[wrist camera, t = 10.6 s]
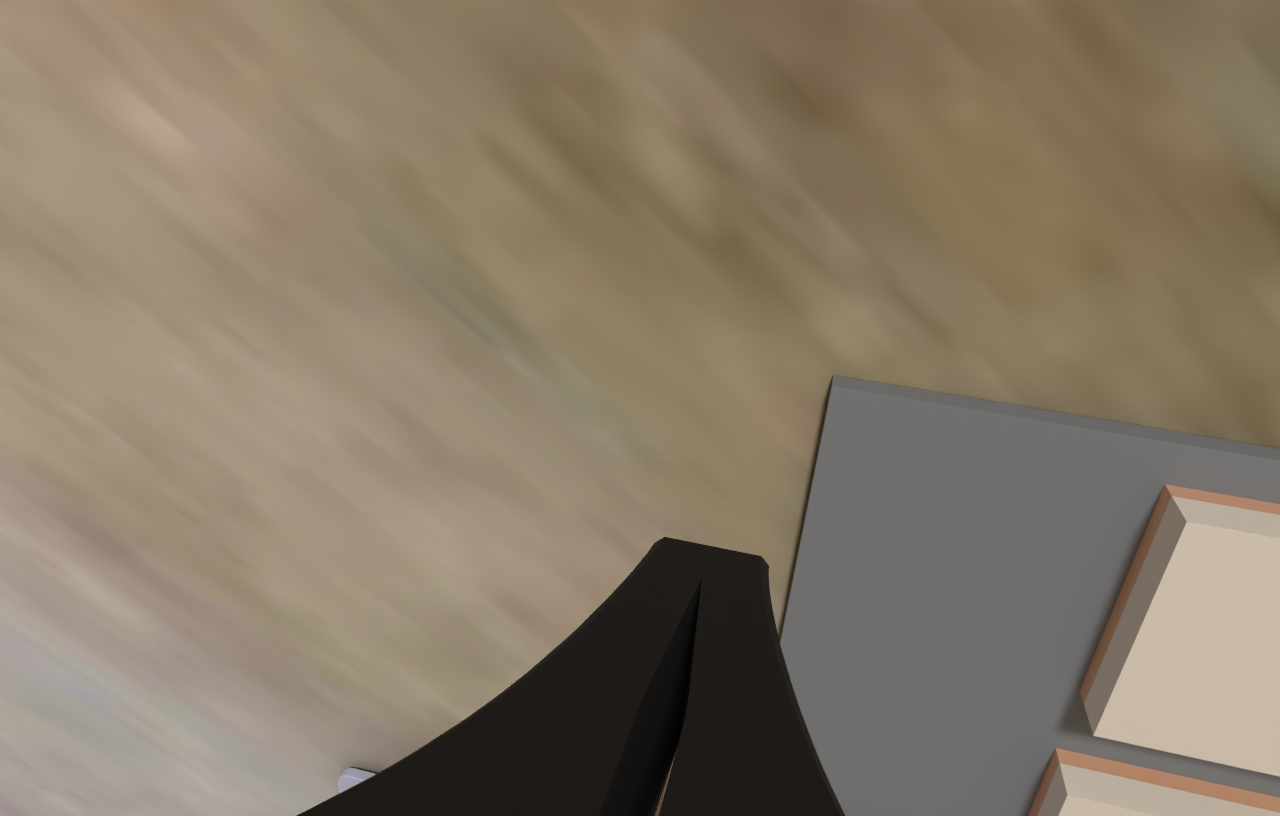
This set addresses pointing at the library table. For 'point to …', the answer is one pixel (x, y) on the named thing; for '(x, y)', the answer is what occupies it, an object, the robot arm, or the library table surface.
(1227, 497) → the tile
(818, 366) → the library table surface
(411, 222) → the library table surface
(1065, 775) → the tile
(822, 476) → the slate mat
